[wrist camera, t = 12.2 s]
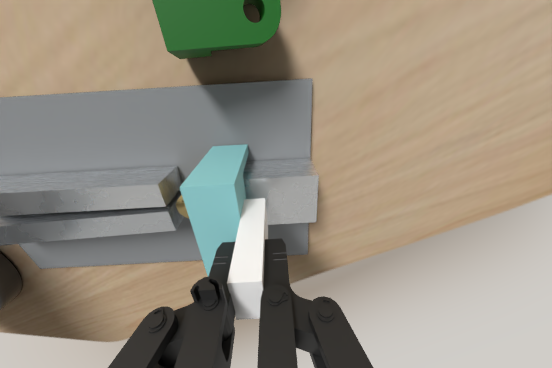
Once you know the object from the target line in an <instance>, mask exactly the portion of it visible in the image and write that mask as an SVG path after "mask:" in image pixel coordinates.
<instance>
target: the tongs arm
mask: <svg viewBox="0 0 552 368" xmlns="http://www.w3.org/2000/svg"><path fill="white" fill-rule="evenodd" d="M180 196H181V191H180V190H179V191H178V192H177V193H176V195H175V196H174V197H173V198H172V200H171V201H170V202H169V203H168V205H167V206H166V207H150V208H132V209H115V210H97V211H79V212H61V213H43V214H26V215H8V216H0V245H12V244H24V243H36V242H48V241H59V240H71V239H83V238H95V237H106V236H118V235H130V234H142V233H154V232H165V231H176V230H177V228H178V226H179V225H180V223H181V221H182V220H183V218H184V216H183V215H181V214H180V213H179V212H178V210H177V207H176V202H177V200H178V198H179V197H180Z"/></svg>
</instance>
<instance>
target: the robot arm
mask: <svg viewBox="0 0 552 368" xmlns="http://www.w3.org/2000/svg"><path fill="white" fill-rule="evenodd" d="M21 288H22V281H21V277H20V275H19V273H18V271H17V270H16V268H15V267H14V266H13V265H12V264H11V262H10V261H9V260H8V259H7V258H5V257H4V256H3V255H2V254H1V253H0V310H1V309H2V308H3V307H4V306H5V305H7V304H8V303H9V302H10V301H11V300H12V299H14V298H15V297H16V296H17V295H18V294H19V293H20V291H21ZM190 292H191V294H192V297H193V299H194V303H192V304H190V305H188V306H185V307H183V308H180V309H177V310H175V311H173V309H172V308H170V307H160V308H157V309H155V310H153V311H152V312H150V313H149V314H148V315H147V316H146V317H145V318H144V319H143V321H142V322H141V323H140V325H139V326H138V328H137V329H136V330H135V332H134V333H133V334H132V336H131V337H130V338H129V340H128V341H127V343H126V344H125V345H124V347H123V348H122V349H121V351H120V352H119V353H118V355H117V356H116V358H115V359H114V360H113V362H112V363H111V364H110V366H109V367H108V368H230V365H231V358H232V350H233V343H234V335H235V329H234V318H235V316H236V319H237V320H239V319H254V318H260V326H259V347H258V368H297V357H296V348H299V349H302V350H304V351H307V352H309V353H310V356H311V358H312V361H313V364H314V367H315V368H373V366H372V365H371V363H370V361H369V359H368V358H367V355H366V354H365V352H364V350H363V348H362V346H361V345H360V343H359V341H358V339H357V337H356V335H355V334H354V332H353V330H352V328H351V326H350V324H349V323H348V321H347V319H346V317H345V315H344V314H343V312H342V310H341V308H340V307H339V305H338V304H337V303H336V302H335V301H334V300H332V299H331V298H328V297H318V298H316V299H314V300H313V301H311V300H307V299H304V298H301V297H299V296H297V295H296V294H295V293H294V292H293V291H292V289H291V287H290V284H289V274H288V263H287V252H286V244H285V243H284V241H283V240H282V238H279V239H268V222H267V212H266V201H265V198H260V199H244V204H243V208H242V213H241V218H240V222H239V227H238V232H237V237H236V242H222V243H221V245H220V246H219V247H218V248H217V250H216V254H215V258H214V260H213V265H212V267H211V270H210V273H209V277H205V278H203V279H201V280H199V281H198V282H197V283H196V284H194V285H193V287H192V289H191V291H190Z"/></svg>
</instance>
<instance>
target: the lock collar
mask: <svg viewBox="0 0 552 368" xmlns="http://www.w3.org/2000/svg"><path fill="white" fill-rule="evenodd" d="M248 154H249V152H248V144H243V145H226V146H213V147H212V148H211V149H210V150H209V151H208V153H207V154H206V155H205V156H204V158H203V159H202V160H201V161H200V163H199V164H198V165H197V166H196V167H195V169H194V170H193V171H192V172H191V174H190V175H189V176H188V177H187V179H186V180H185V181H184V182H183V184H182V185H181V186H180V191H181V194H182V197H183V200H184V203H185V206H186V209H187V213H188V216H189V219H190V222H191V225H192V228H193V231H194V234H195V238H196V241H197V244H198V247H199V250H200V253H201V256H202V260H203V263H204V266H205V269H206V272H207V275H208V277H209V273H210V270H211V267H212V265H213V260H214V258H215V254H216V250H217V248H218V247H219V246H220V245H221V243H222V242H236V237H237V232H238V227H239V222H240V218H241V213H242V208H243V204H244V199H246V193H245V186H244V179H243V171H244V168H245V164H246V161H247V157H248Z"/></svg>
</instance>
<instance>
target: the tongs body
mask: <svg viewBox="0 0 552 368" xmlns="http://www.w3.org/2000/svg"><path fill="white" fill-rule="evenodd" d="M318 177H319V175H318V173H317V171H316V169H315V166H314V164H313V162H312V160H311V158H304V159H287V160H269V161H252V162H246V164H245V168H244V171H243V179H244V186H245V193H246V199H260V198H265V201H266V212H267V222H268V225H274V224H292V223H310V222H316V217H317V197H318ZM181 185H182V181H181V178H180V175H179V171H178V168H177V166H166V167H148V168H131V169H114V170H97V171H79V172H62V173H45V174H28V175H10V176H0V216H8V215H26V214H43V213H61V212H79V211H97V210H115V209H132V208H150V207H166V206H167V205H168V203H169V202H170V201H171V200H172V198H173V197H174V196H175V195H176V193H177V192H178V191H179V190H180V186H181ZM176 207H177V210H178V212H179V213H180V214H181V215H183V216H184V217H186V218H189V216H188V213H187V209H186V206H185V203H184V200H183V197H182V194H181V196H180V197H179V198H178V200H177V202H176Z"/></svg>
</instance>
